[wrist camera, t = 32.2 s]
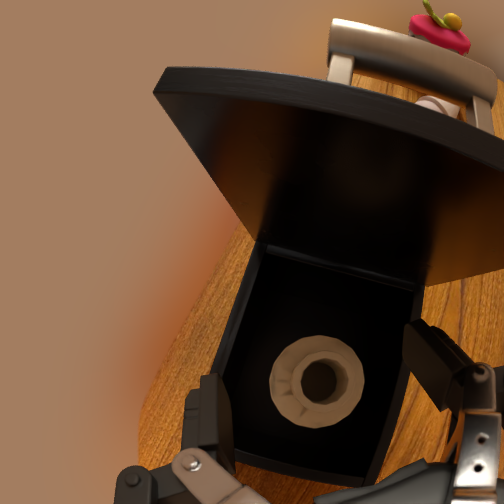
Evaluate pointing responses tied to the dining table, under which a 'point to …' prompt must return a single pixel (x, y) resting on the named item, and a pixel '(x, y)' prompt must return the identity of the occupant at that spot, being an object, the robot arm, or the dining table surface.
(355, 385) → the bottle
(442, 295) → the dining table surface
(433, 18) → the cake
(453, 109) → the ice cream cone
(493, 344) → the dining table surface
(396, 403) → the bin
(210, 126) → the bin lid
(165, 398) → the dining table surface
